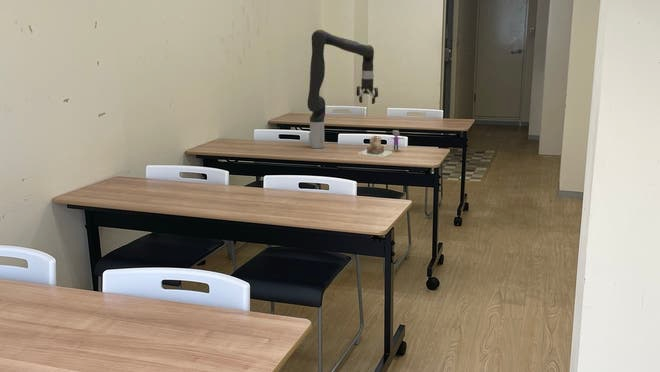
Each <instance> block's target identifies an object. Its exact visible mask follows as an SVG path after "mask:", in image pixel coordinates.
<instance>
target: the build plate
mask: <svg viewBox="0 0 660 372" xmlns="http://www.w3.org/2000/svg"><path fill="white" fill-rule="evenodd" d="M392 153H393V151H391V150H384V152H383V153H381V154H379V155H377V154H368V153H367V148H366V149H364V150H362V151H359V152H358V153H357V154H358V155H364V156H365V155H366V156H375V157H382V158H383V157H386V156H388V155H390V154H392Z"/></svg>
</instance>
